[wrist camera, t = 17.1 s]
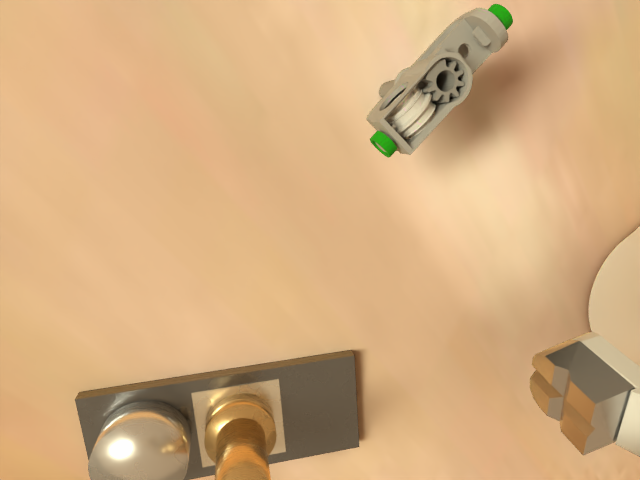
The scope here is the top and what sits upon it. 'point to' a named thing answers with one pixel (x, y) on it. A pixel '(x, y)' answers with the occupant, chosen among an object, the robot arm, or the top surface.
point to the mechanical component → (436, 80)
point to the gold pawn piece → (240, 437)
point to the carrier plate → (194, 406)
